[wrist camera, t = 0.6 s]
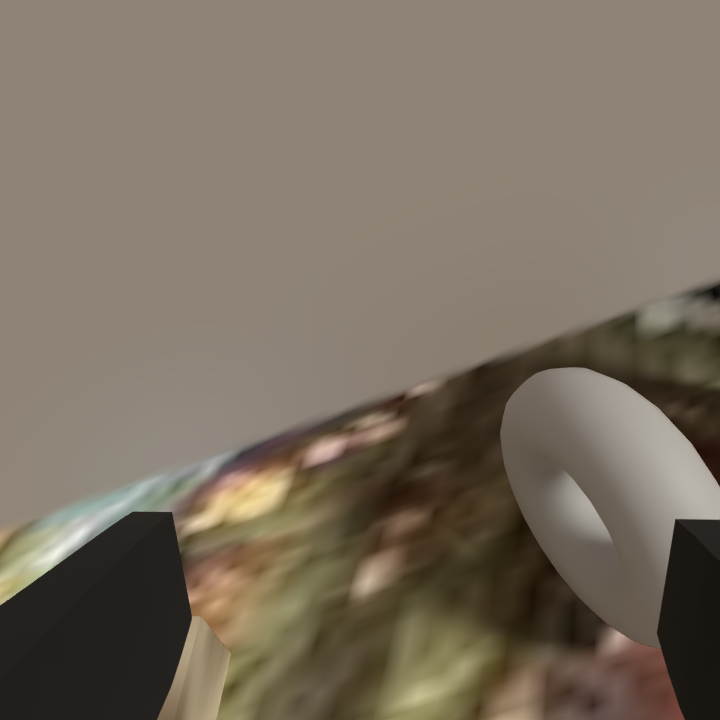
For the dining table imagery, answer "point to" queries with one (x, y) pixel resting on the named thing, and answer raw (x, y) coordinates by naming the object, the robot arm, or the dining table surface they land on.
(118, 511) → the dining table surface
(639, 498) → the donut
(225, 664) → the block
